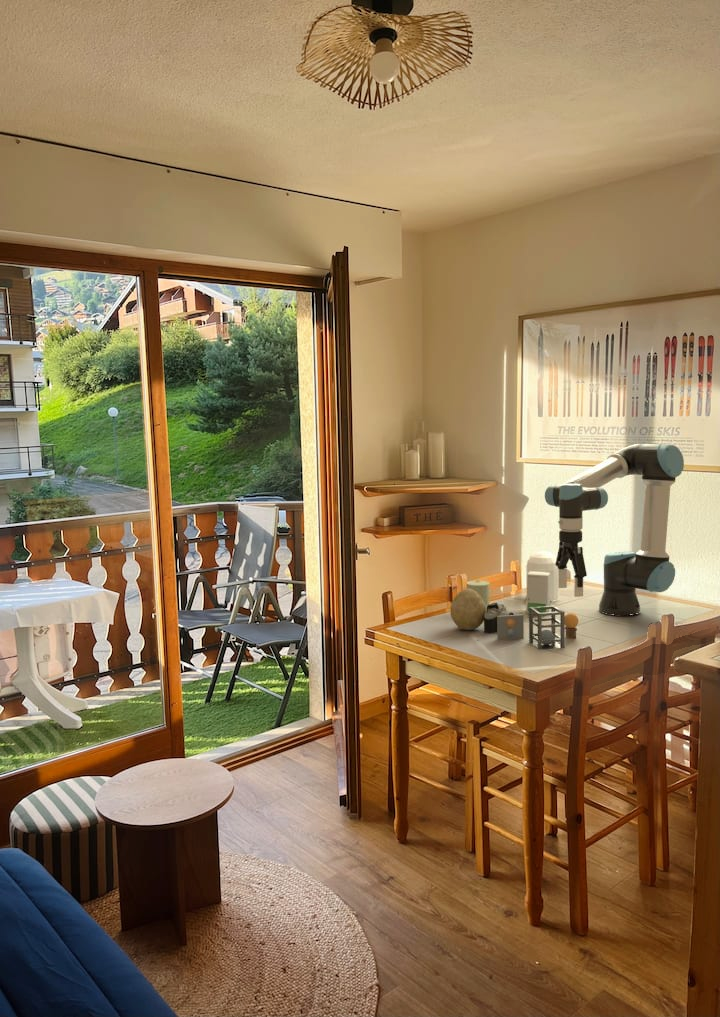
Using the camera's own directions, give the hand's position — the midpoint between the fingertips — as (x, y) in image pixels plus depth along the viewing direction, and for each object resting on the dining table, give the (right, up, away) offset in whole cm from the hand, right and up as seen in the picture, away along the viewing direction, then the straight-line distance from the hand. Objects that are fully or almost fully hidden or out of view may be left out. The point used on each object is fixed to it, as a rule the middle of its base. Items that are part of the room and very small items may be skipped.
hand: (570, 592), depth 264 cm
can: (-24, -13, +44) cm, 52 cm away
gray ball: (-9, -17, -6) cm, 20 cm away
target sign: (-20, -17, +3) cm, 26 cm away
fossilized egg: (-32, -16, +19) cm, 40 cm away
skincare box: (-2, -12, +40) cm, 42 cm away
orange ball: (+1, -12, +1) cm, 12 cm away
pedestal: (+1, -16, +2) cm, 17 cm away
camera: (-21, -16, +15) cm, 31 cm away
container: (+5, -9, +62) cm, 63 cm away
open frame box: (-9, -18, -5) cm, 21 cm away
